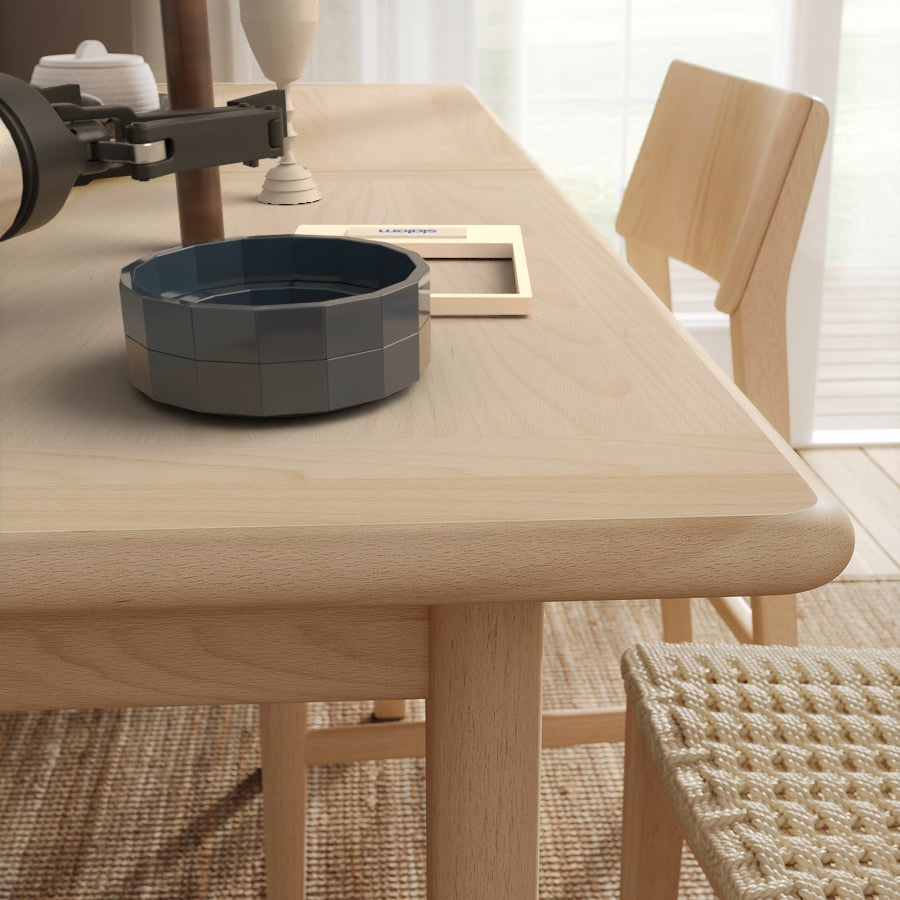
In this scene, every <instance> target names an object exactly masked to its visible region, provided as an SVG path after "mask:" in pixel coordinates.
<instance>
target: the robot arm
mask: <svg viewBox="0 0 900 900" xmlns="http://www.w3.org/2000/svg"><path fill="white" fill-rule="evenodd" d="M102 119H112V121H113V130H114V138H111V134H110V132H109V130H108V129H107V128H106V127H105V126H104V124H103V123H102V122H101V121H99V120H102ZM286 137H288V133H287V114H286V96H285V90H278V89H276V88H275V89H270V90H269V89H268V90H266V91H262V92H258V93H254V94H251V95H247V96H243V97H239V98H235V99H232V100H227V101H226V106H215V107H211V108H198V109H185V110H171V111H169V110H157V111H146V112H135V110H134V109H133V108H131V106H127V105H124V104H118V103H116V104H115V103H114V104H100V105H88V106H87V105H86V106H83V101H82V93H81V85H80V83H66V84H60V85H54V86H48V87H43V88H37V89H36V88H34V87H33V86H32V85H30V84H29V83H27V82H26V81H24V80H22V79H20V78H18V77H16V76H14V75H11V74H9V73H5V72H0V243H3V242H6V241H8V240H11V239H14V238H16V237H19V236H22V235H25V234H27V233H30V232H33V231H36V230H38V229H41V228H42V227H44V226H45V225H47V224H48V223H50V222H51V221H52V220H54V219H55V217H56V216H57V215H58V214H59V213H60V212H61V211H62V209H63V207H64V206H65V204H66V202H67V200H68V198H69V196H70V195H71V192H72V189H73V188H76V187H77V188H78V187H84V186H88V185H89V184H91V183H92V181H95V180H103V179H112V178H113V179H114V178H122V177H129V176H130V179H131V180H134V181H138V182H143V183H144V182H150V180H153V179H157V178H161V177H166V176H168V175H171V174H175V173H177V172H183V171H189V170H196V169H202V168H209V167H215V166H219V167H221V166H227V165H234V164H240V163H242V165H243V166H245V167H249V168H252V169H253V168H255V169H256V168H260V160H265V159H266V160H267V159H271V160H273V159H274V160H275V159H278V158H279V157H280V158H281V157H282V156H284V138H286Z"/></svg>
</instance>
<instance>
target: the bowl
mask: <svg viewBox="0 0 900 900" xmlns="http://www.w3.org/2000/svg"><path fill="white" fill-rule="evenodd" d="M118 290H119V297H120V306H121V307H120V308H121V314H122V324H123V332H124V340H125V341H124V343H125V350H126V357H127V359H126V360H127V367H128V377H129V381H130V383H131V385H133V386H134V387H135V388H137V389H138V390H139V391H141V392H142V393H144V394H145V395H146V396H147V397H149V398H150V399H151V400H153V401H155V402H159V403H163V404H167V405H171V406H175V407H179V408H182V409H186V410H190V411H194V412H198V413H204V414H205V413H206V414H210V415H216V416H223V417H231V418H242V419H245V418H246V419H285V418H287V419H288V418H300V417H308V416H309V417H310V416H317V415H323V414H328V413H334V412H338V411H343V410H347V409H350V408H354V407H358V406H360V405H364V404H366V403H369V402H373V401H377V400H382V399H384V398H386V397H388V396H391V395H392V394H395V393H397V392H399V391H400V390H403V389H405V388H407V387H408V386H410V385H413V384H414V383H416V382H419V381H420V380H421V378H422V376H423V374H424V373H425V371H426V370H427V368H428V367H429V365H430V364H431V360H432V354H431V353H432V352H431V351H432V349H431V342H432V341H431V314H430V294H431V268H430V265H429V263H428V262H427V261H426V260H425V258H422V257H421V256H420V255H419V253H417V252H414V251H411V250H408V249H405V248H402V247H399V246H396V245H393V244H390V243H387V242H381V241H375V240H368V239H361V238H354V237H347V236H332V235H305V234H294V233H284V234H282V233H280V234H264V235H263V234H261V235H260V234H259V235H242V236H240V235H239V236H232V237H231V236H230V237H225V238H223V239H216V240H209V241H202V242H195V243H188V244H184V245H181V244H180V245H176V246H173V247H170V248H166V249H163V250H158V251H155V252H151V253H147V254H145V255H143V256H141V257H139V258H138V259H135V260H134V261H133V262H130V263H129V264H127V265H125V266H123V267H122V268H121V269H120V274H119V281H118Z"/></svg>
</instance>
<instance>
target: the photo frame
mask: <svg viewBox="0 0 900 900" xmlns="http://www.w3.org/2000/svg"><path fill="white" fill-rule="evenodd" d="M293 234H305V235H332V236H347V237H354V238H361V239H368V240H375V241H381V242H387V243H390V244H393V245H396V246H399V247H402V248H405V249H408V250H411V251H414V252H417V253H419V255H420V256H421V257H422V258H423V259H425V258H434V259H436V258H438V259H439V258H442V259H443V258H444V259H445V258H446V259H447V258H450V259H451V258H452V259H453V258H455V259H458V258H459V259H462V258H464V259H465V258H467V259H471V258H473V259H474V258H475V259H477V258H478V259H490V258H491V259H496V258H497V259H511V260H512V266H513V274H514V281H515V287H516V288H515V289H516V293H430V315H514V316H515V315H520V316H521V315H522V316H523V315H524V316H525V315H533V301H534V300H533V299H534V297H533V291H532V286H531V282H530V275H529V269H528V264H527V258H526V252H525V248H524V240H523V236H522V231H521V225H520V224H299V226H298V227H297V228H296V230H295V232H294V233H293Z"/></svg>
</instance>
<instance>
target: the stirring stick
mask: <svg viewBox="0 0 900 900" xmlns="http://www.w3.org/2000/svg"><path fill="white" fill-rule="evenodd" d="M158 3H159V15H160V26H161V37H162V48H163V58H164V69H165V79H166V91H167V101H168V102H167V103H168V111H171V110H185V109H198V108H211V107H216V106H215V93H214V79H213V67H212V55H211V54H212V53H211V42H210V41H211V40H210V30H209V29H210V27H209V17H208V3H207V0H158ZM220 172H221V170H220V166H215V167H209V168H202V169H196V170H189V171H183V172H177V173H174V179H175V189H176V199H177V212H178V222H179V232H180V242H181V244H180V246H181V245H184V244H188V243H195V242H202V241H209V240H216V239H223V238H226V237H225V236H226V235H225V225H224V223H225V222H224V211H223V210H224V209H223V197H222V186H221V173H220Z"/></svg>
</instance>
